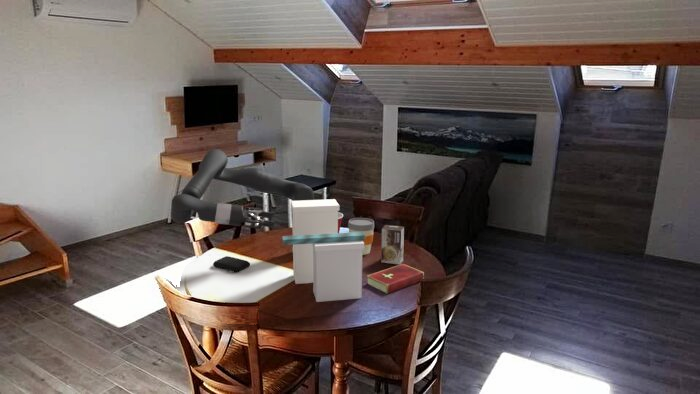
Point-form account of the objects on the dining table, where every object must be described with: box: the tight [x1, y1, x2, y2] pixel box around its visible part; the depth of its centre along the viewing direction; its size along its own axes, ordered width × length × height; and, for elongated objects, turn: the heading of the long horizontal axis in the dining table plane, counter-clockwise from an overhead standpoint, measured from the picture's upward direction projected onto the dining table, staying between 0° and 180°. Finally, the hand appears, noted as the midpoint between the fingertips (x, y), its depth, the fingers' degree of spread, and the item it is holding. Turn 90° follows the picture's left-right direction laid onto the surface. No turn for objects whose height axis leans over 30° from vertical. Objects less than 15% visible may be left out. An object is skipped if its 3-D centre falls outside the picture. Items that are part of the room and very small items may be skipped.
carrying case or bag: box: [212, 255, 251, 273], centre depth 204 cm, size 11×3×15 cm
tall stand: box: [290, 198, 341, 285], centre depth 190 cm, size 18×10×32 cm, turn 102°
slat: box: [281, 232, 365, 246], centre depth 173 cm, size 30×4×2 cm, turn 102°
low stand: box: [312, 241, 364, 303], centre depth 177 cm, size 18×10×22 cm, turn 102°
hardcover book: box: [366, 263, 425, 295], centre depth 191 cm, size 12×21×4 cm, turn 130°
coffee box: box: [380, 224, 405, 265], centre depth 211 cm, size 9×6×16 cm
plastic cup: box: [338, 211, 344, 233], centre depth 244 cm, size 11×11×12 cm
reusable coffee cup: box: [347, 217, 375, 256], centre depth 223 cm, size 13×13×15 cm
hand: (273, 219), depth 176 cm, fingers open, 8 cm apart
